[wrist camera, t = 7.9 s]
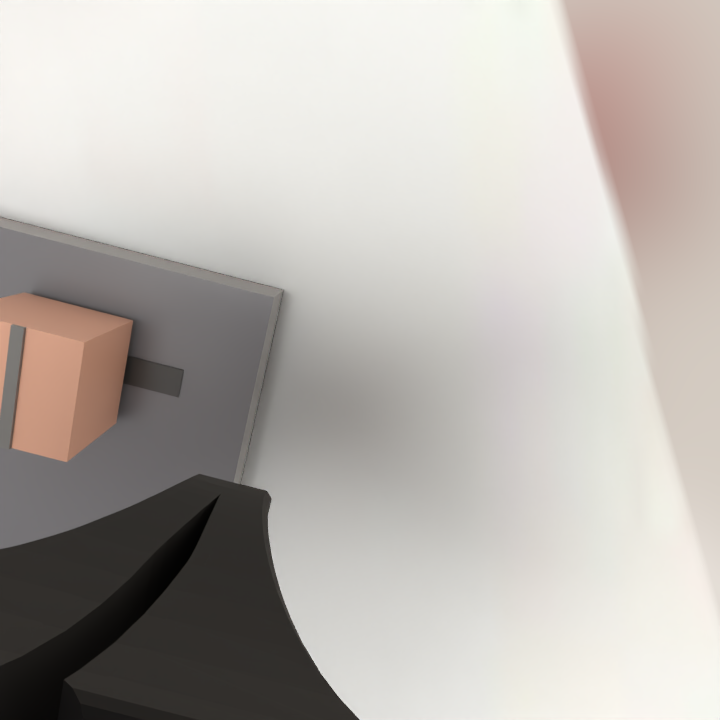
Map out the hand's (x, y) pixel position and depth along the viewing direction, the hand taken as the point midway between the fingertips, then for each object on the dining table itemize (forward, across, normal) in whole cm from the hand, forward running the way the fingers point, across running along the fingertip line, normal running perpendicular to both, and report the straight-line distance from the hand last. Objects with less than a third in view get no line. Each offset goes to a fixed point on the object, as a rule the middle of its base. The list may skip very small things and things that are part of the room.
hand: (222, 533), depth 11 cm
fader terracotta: (+7, +6, 0) cm, 9 cm away
